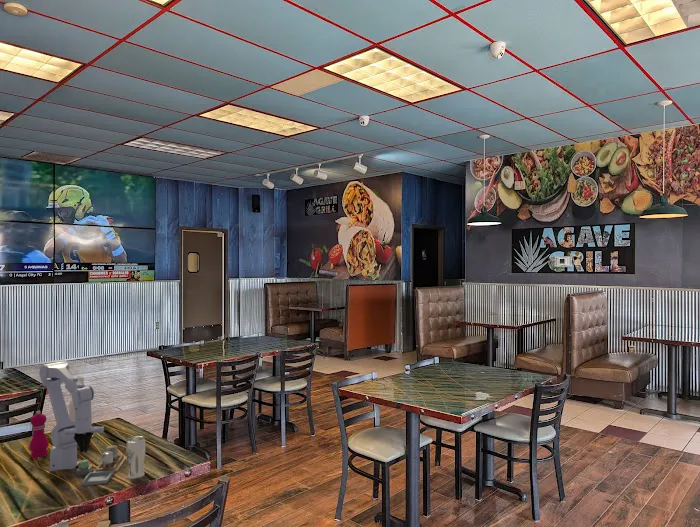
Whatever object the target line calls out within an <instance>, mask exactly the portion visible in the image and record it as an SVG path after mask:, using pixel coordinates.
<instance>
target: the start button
mask: <svg viewBox="0 0 700 527" xmlns="http://www.w3.org/2000/svg"><path fill="white" fill-rule="evenodd" d="M80 461H81V462H80V463H79V464H80V466H81V469H88V468H89V467H88V465H89V459H83V460H80Z"/></svg>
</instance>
